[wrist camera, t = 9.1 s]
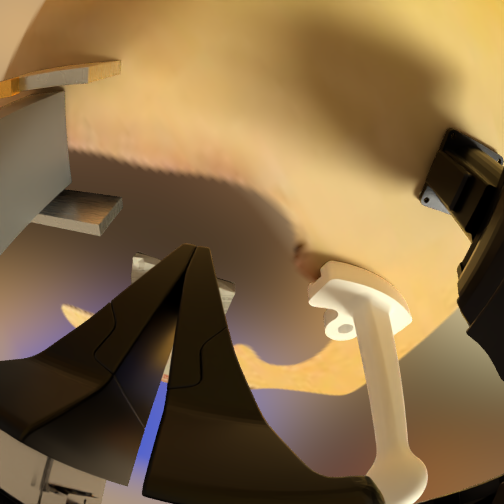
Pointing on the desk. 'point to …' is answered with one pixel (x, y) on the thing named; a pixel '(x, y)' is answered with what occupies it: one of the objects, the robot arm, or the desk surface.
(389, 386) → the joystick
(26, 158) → the grey rectangular block
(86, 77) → the rack bay
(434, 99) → the desk surface
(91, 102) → the desk surface
